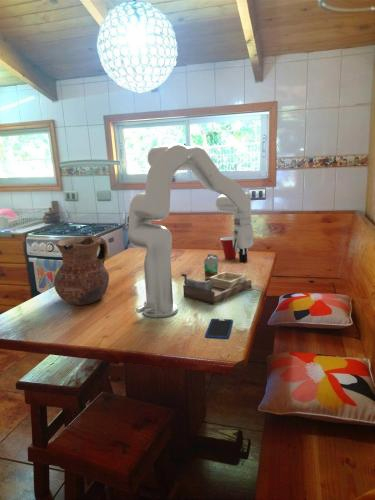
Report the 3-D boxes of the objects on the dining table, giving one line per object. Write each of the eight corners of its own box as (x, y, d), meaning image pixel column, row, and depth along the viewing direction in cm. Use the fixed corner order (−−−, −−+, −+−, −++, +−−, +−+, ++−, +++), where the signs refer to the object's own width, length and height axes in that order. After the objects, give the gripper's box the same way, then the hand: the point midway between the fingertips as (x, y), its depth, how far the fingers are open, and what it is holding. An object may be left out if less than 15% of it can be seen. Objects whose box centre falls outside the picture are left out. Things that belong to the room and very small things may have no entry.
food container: (218, 281, 162) (217, 259, 160) (204, 281, 164) (203, 259, 161) (221, 273, 174) (220, 253, 172) (208, 273, 175) (207, 253, 173)
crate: (230, 290, 145) (230, 282, 144) (209, 285, 152) (209, 277, 151) (246, 283, 153) (246, 275, 152) (225, 279, 160) (225, 271, 159)
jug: (89, 311, 133) (82, 245, 128) (44, 306, 140) (36, 244, 135) (120, 292, 153) (115, 234, 148) (79, 288, 160) (73, 233, 155)
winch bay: (211, 305, 133) (210, 281, 131) (180, 297, 144) (179, 274, 142) (251, 287, 152) (251, 265, 150) (221, 280, 163) (221, 260, 161)
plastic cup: (229, 254, 212) (228, 234, 209) (243, 257, 204) (243, 236, 201) (216, 258, 205) (215, 237, 202) (230, 261, 197) (230, 239, 194)
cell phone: (233, 321, 120) (233, 319, 119) (228, 340, 106) (228, 338, 106) (211, 320, 121) (211, 318, 121) (204, 338, 108) (204, 336, 108)
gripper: (239, 224, 147) (240, 267, 151) (259, 219, 158) (259, 259, 162) (224, 223, 152) (226, 265, 156) (244, 218, 163) (245, 257, 167)
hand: (243, 262), depth 159 cm, fingers closed
